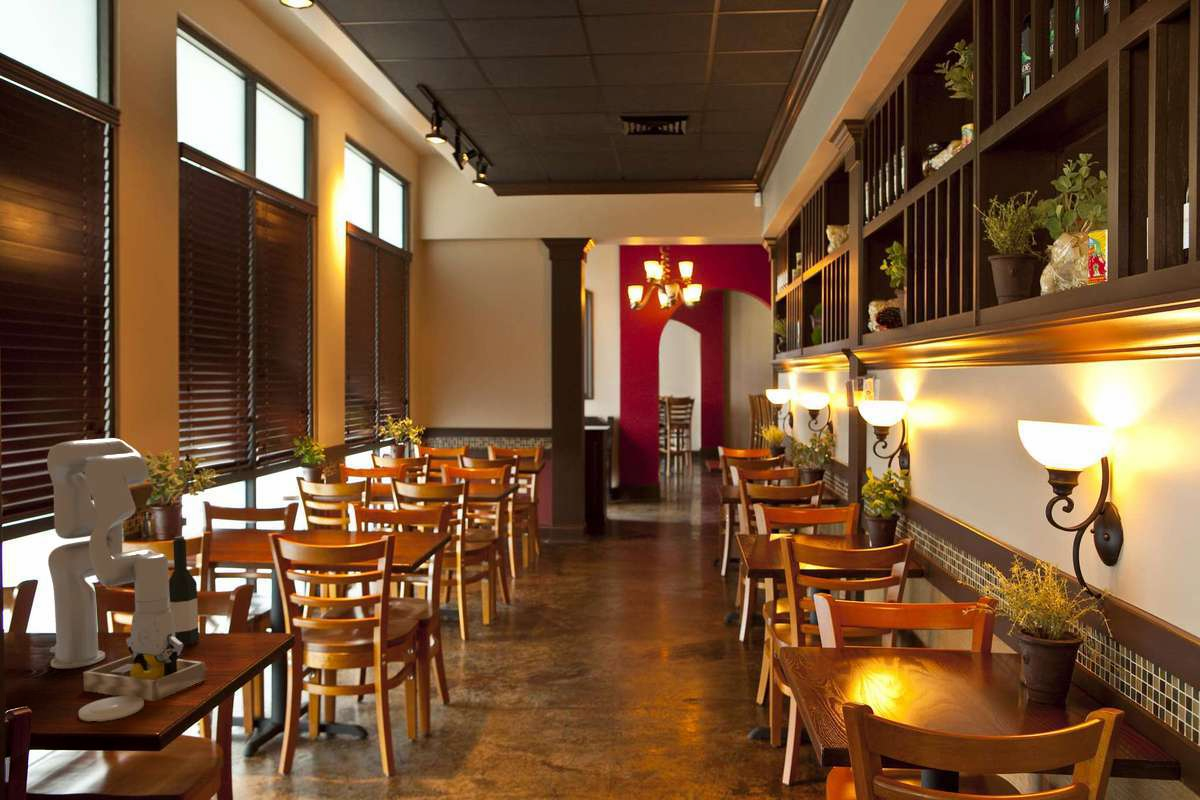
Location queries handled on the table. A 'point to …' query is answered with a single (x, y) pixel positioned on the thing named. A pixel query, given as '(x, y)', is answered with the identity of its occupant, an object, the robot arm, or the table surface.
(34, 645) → the table surface
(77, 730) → the table surface
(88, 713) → the plate
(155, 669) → the duckling
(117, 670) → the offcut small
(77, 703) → the table surface
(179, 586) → the wine bottle
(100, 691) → the tray
